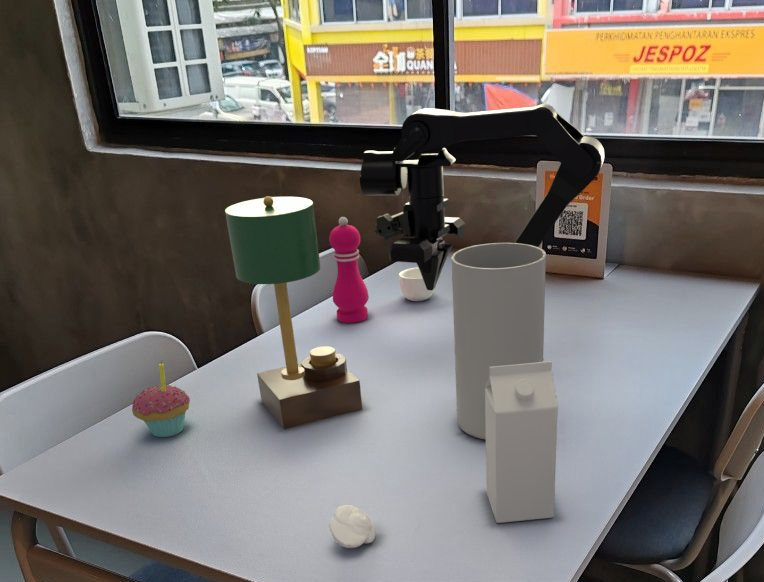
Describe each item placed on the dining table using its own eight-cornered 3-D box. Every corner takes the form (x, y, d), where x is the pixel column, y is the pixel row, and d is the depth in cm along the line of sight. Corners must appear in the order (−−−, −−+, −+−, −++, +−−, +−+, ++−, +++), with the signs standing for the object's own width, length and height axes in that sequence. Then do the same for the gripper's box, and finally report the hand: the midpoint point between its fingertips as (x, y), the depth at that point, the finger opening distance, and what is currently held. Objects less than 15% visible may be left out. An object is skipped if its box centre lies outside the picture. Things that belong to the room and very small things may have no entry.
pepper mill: (365, 324, 164) (356, 221, 153) (330, 323, 165) (319, 221, 155) (374, 312, 170) (365, 212, 159) (340, 311, 171) (329, 212, 161)
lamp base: (335, 383, 139) (330, 344, 136) (362, 409, 130) (358, 368, 126) (261, 401, 135) (254, 361, 131) (284, 429, 126) (277, 387, 122)
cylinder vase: (531, 447, 116) (534, 270, 103) (446, 437, 120) (439, 267, 107) (549, 409, 126) (554, 244, 113) (470, 401, 130) (466, 241, 117)
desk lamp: (317, 354, 132) (295, 183, 119) (344, 380, 123) (324, 196, 109) (244, 371, 128) (213, 195, 115) (267, 398, 119) (236, 210, 105)
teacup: (427, 305, 171) (426, 279, 168) (394, 302, 174) (392, 277, 171) (445, 290, 179) (444, 265, 176) (413, 288, 182) (412, 263, 179)
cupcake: (205, 421, 130) (190, 349, 124) (175, 446, 123) (158, 371, 117) (159, 416, 133) (141, 346, 126) (127, 440, 126) (108, 367, 120)
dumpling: (342, 526, 102) (347, 497, 101) (380, 539, 101) (386, 511, 99) (317, 548, 96) (321, 518, 94) (357, 563, 95) (362, 533, 93)
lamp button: (331, 356, 132) (329, 344, 131) (340, 364, 129) (338, 352, 128) (307, 361, 131) (306, 349, 130) (316, 370, 128) (314, 357, 127)
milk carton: (486, 494, 106) (484, 355, 96) (540, 488, 106) (544, 350, 96) (496, 524, 100) (495, 379, 90) (554, 518, 100) (559, 373, 90)
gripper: (405, 182, 143) (410, 271, 152) (355, 206, 129) (364, 303, 137) (465, 183, 139) (467, 275, 147) (420, 209, 125) (425, 308, 133)
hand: (430, 289), depth 141 cm, fingers closed
